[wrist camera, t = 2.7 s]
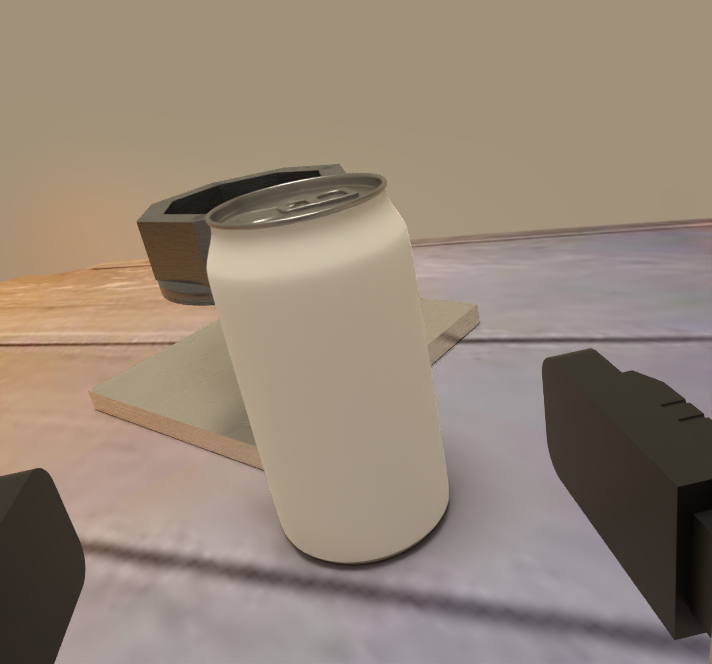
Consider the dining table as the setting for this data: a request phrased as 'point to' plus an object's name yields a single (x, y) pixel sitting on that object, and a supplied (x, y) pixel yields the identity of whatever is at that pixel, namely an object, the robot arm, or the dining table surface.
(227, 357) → the cup bracket
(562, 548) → the dining table surface
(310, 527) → the can
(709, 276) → the dining table surface
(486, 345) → the dining table surface
